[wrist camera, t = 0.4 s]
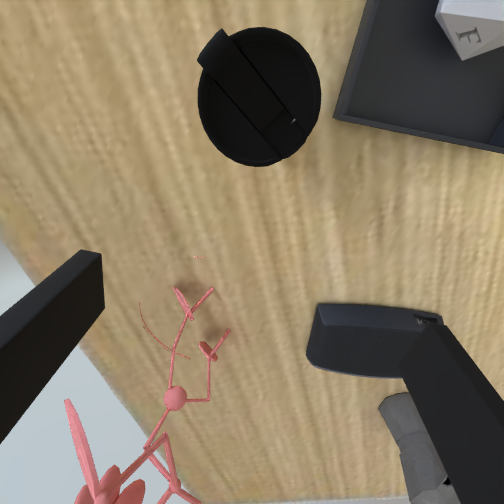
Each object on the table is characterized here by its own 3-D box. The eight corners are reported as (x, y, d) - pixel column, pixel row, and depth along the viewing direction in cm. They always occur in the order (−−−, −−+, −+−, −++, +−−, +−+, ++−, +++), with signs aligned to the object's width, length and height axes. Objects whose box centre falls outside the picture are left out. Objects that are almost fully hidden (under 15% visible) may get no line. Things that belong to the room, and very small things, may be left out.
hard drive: (412, 365, 50) (423, 386, 46) (304, 355, 50) (306, 375, 47) (442, 310, 44) (457, 329, 40) (317, 298, 44) (321, 316, 40)
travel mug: (265, 46, 29) (258, -27, 11) (305, 100, 31) (352, 109, 13) (223, 94, 31) (162, 96, 13) (263, 141, 33) (255, 195, 16)
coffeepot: (379, 386, 53) (425, 508, 38) (432, 384, 52) (502, 508, 36) (374, 431, 61) (411, 549, 45) (420, 430, 60) (474, 550, 44)
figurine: (200, 240, 40) (-22, 706, 10) (247, 361, 52) (215, 739, 22) (106, 260, 43) (-304, 676, 12) (171, 371, 55) (47, 720, 24)
